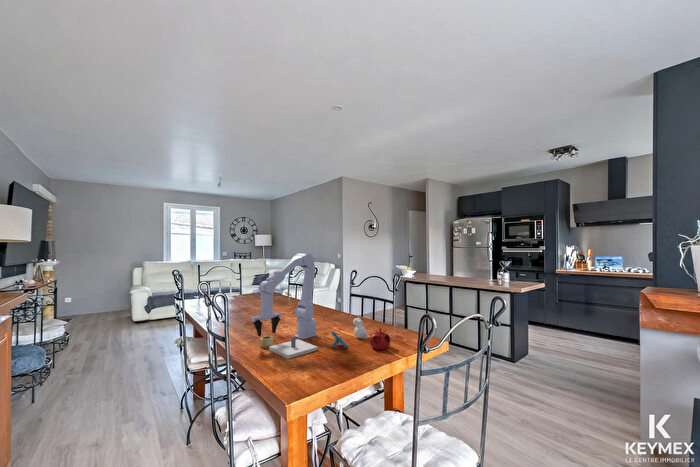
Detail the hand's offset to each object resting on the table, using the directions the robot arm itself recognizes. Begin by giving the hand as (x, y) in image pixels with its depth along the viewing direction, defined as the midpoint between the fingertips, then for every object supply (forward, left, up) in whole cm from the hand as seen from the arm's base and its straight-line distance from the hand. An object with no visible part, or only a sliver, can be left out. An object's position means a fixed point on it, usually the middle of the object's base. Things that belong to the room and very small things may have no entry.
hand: (266, 334), depth 151 cm
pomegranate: (-37, +40, -6) cm, 55 cm away
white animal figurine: (-42, +22, -6) cm, 48 cm away
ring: (0, 0, -6) cm, 6 cm away
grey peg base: (-6, +14, -6) cm, 16 cm away
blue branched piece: (-24, +26, -6) cm, 36 cm away
